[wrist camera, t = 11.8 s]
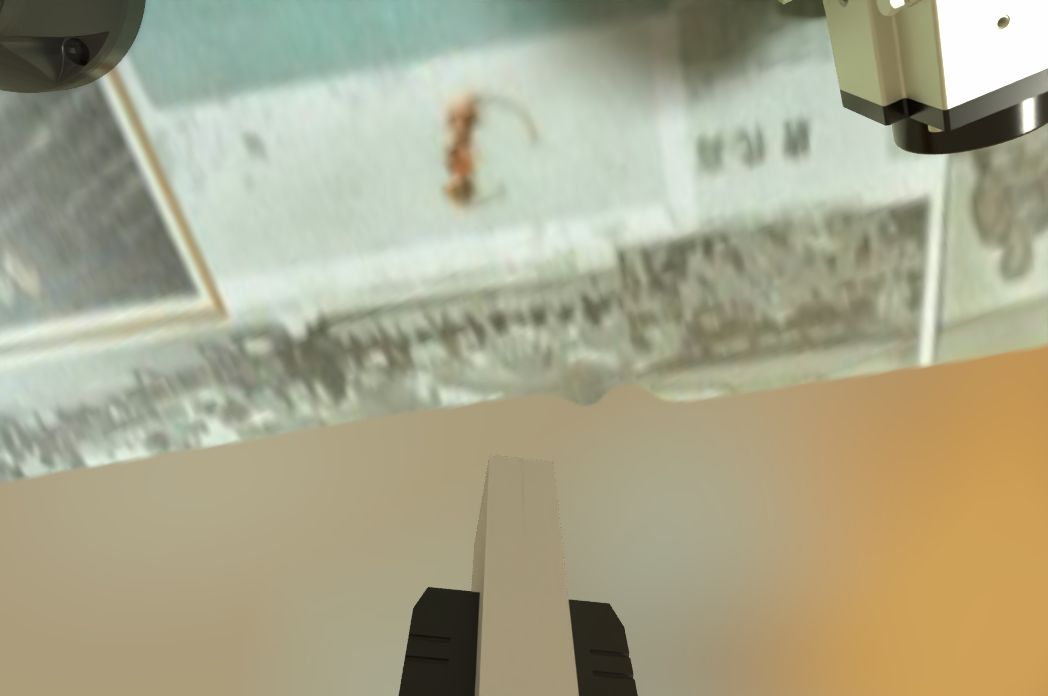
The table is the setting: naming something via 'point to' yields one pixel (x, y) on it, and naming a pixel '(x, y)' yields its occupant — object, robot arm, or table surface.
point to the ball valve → (943, 68)
